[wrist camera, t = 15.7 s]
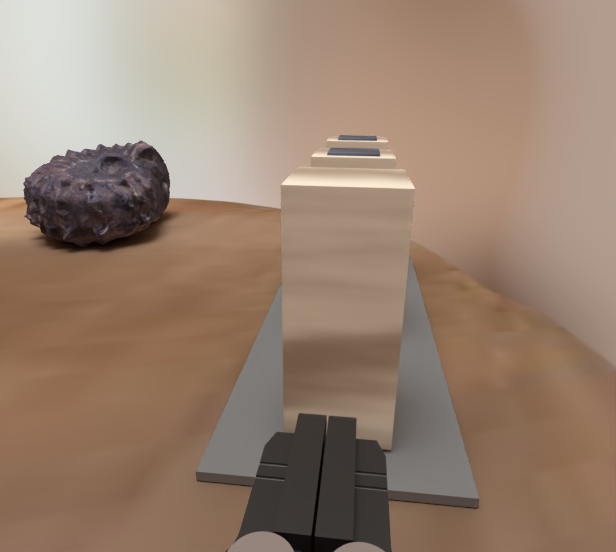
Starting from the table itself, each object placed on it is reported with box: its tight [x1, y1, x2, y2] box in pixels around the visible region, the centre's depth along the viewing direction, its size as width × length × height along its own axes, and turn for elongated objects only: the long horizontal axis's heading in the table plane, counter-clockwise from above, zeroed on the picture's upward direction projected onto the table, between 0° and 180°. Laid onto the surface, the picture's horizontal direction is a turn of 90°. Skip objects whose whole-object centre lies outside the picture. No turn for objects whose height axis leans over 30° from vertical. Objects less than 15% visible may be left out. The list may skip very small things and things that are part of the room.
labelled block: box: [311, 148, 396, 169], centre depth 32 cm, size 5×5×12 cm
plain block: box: [281, 167, 415, 450], centre depth 22 cm, size 5×5×12 cm
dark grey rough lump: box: [24, 141, 170, 247], centre depth 57 cm, size 20×13×15 cm
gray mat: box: [196, 258, 479, 508], centre depth 34 cm, size 31×12×1 cm, turn 173°
